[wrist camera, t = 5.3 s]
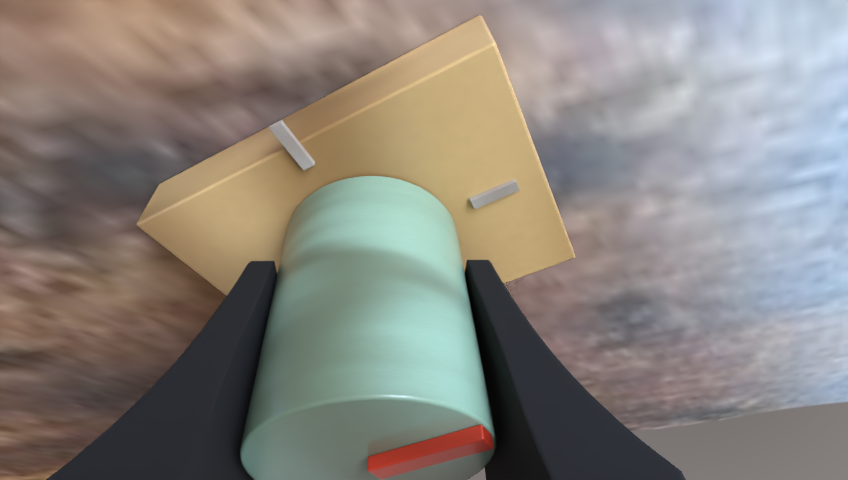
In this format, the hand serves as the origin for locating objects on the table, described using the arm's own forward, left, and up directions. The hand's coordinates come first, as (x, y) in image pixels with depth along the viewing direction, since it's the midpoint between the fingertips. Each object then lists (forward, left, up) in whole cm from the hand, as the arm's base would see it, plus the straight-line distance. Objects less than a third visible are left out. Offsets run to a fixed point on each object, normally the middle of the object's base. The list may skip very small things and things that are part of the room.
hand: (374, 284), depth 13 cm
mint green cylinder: (0, 0, -2) cm, 2 cm away
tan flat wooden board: (0, 0, -4) cm, 4 cm away
